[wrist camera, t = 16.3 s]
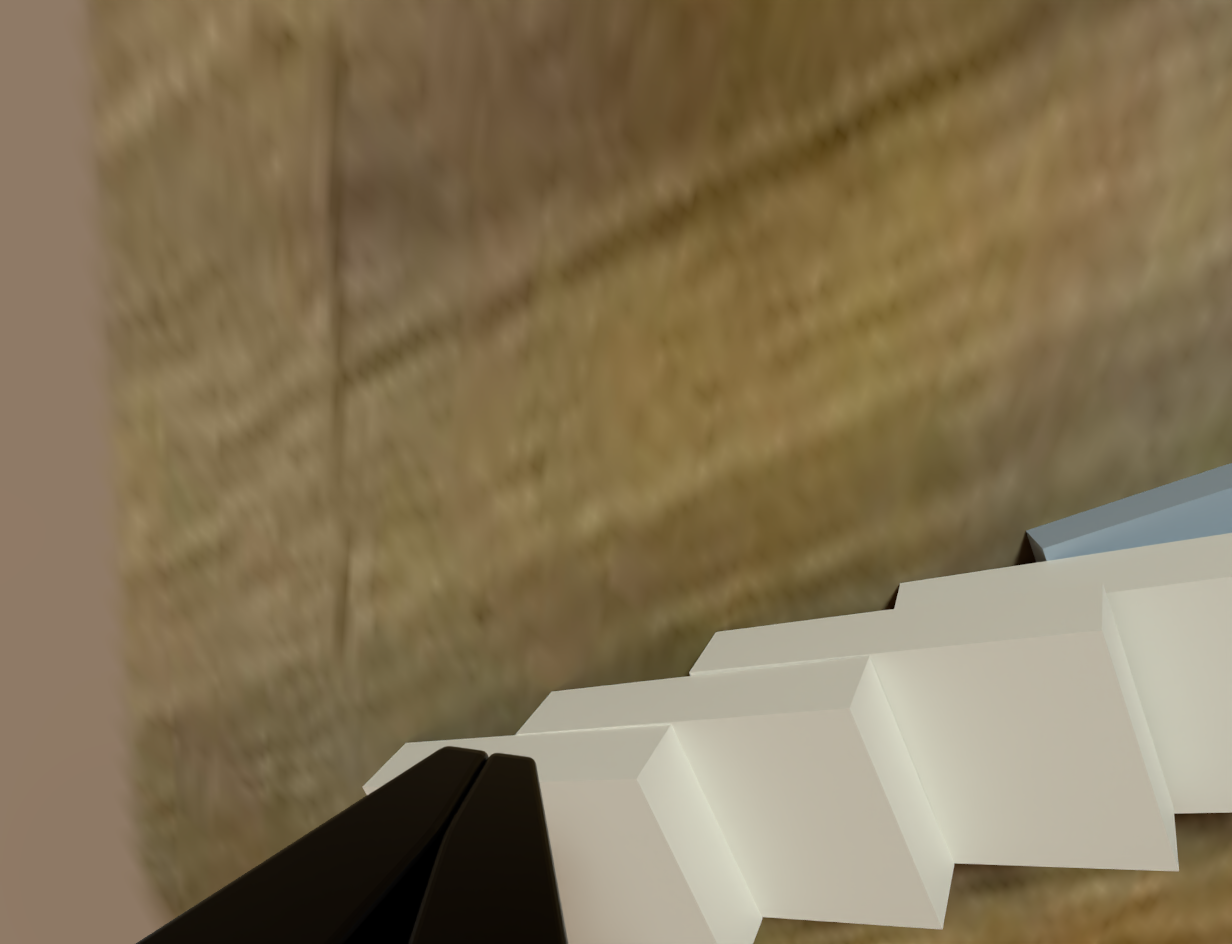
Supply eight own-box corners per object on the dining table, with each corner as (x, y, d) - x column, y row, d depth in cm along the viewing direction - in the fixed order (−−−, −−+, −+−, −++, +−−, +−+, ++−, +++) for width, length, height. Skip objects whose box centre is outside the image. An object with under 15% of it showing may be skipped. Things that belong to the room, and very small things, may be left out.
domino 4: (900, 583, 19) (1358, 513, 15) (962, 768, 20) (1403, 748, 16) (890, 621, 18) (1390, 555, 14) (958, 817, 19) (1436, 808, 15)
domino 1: (405, 743, 22) (671, 724, 17) (492, 898, 23) (762, 918, 18) (362, 787, 21) (636, 778, 16) (455, 949, 22) (737, 983, 17)
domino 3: (715, 632, 20) (1102, 581, 16) (792, 807, 21) (1173, 807, 17) (688, 672, 19) (1101, 629, 14) (771, 856, 20) (1179, 871, 15)
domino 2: (551, 691, 21) (869, 656, 16) (634, 855, 22) (954, 864, 18) (515, 734, 20) (849, 708, 15) (605, 906, 21) (942, 929, 16)
